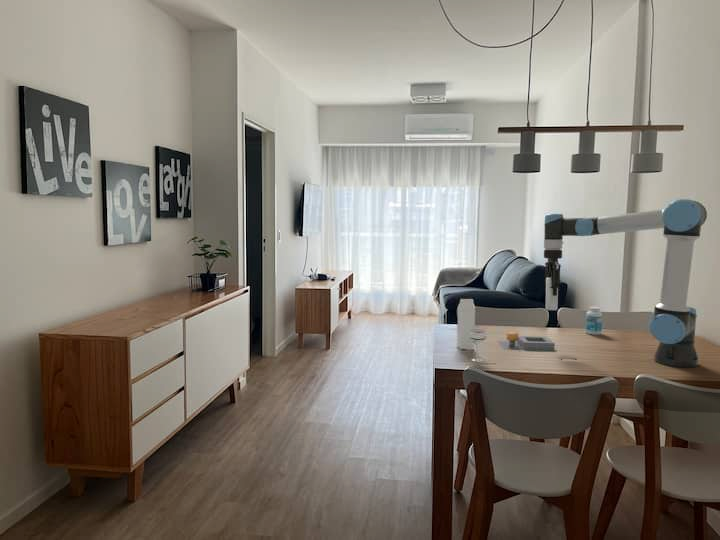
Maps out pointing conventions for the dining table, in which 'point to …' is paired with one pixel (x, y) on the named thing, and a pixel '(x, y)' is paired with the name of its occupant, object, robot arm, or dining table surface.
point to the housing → (529, 344)
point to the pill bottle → (593, 321)
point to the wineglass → (477, 340)
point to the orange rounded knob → (512, 336)
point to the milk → (465, 323)
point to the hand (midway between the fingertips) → (551, 301)
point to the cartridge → (548, 295)
